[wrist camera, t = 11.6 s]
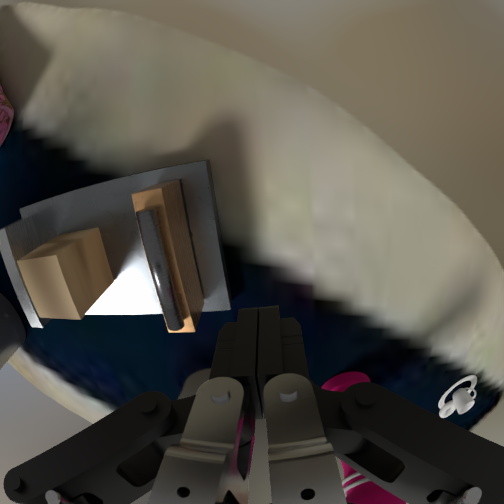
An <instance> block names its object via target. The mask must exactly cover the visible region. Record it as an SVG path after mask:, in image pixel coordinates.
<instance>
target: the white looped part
mask: <svg viewBox="0 0 504 504" xmlns="http://www.w3.org/2000/svg"><path fill="white" fill-rule="evenodd" d="M467 380H470V381H471V387H470V388H460V389H458V390H457V391H456V392H455V393H454V394H453V400H451V401H449V402H447V403H446V404H445V403H444V400H445V398H446V396H447V395H448V393H449V392H450V391H451V390H452V389H453V388H455V387H456V386H457V385H459V384H460V383H462V382H464V381H467ZM476 382H477V377H476V376H475V375H470V376H467V377H465V378H463V379H461V380H460V381H458V382H457V383H455V384H454V385H453V386H452V387H451V388H450V389H448V390H447V391H446V393H445V394H444V395H443V396H442V398H441V399H440V401H439V404H438V406H439V408H440V409H441V410H440V412H439V415H440V417H441V418H445V417H448V416H449V415H450V414H452V413H453V412H454V410H455V409H457V411H458V413H459V414H463V413H465V412H466V411H468V410H469V409H470V408H471V407H472V406H473V405H474V400H473V399H474V398H475V397H476V391H475V390H474V389H473V388H474V387H475V385H476ZM465 389H469V390H468V391H466V390H465ZM472 390H473V391H474V393H475V394H474V397H471V396H470V394H469V393H470V392H471V391H472Z"/></svg>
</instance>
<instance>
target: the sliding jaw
mask: <svg viewBox="0 0 504 504" xmlns="http://www.w3.org/2000/svg"><path fill="white" fill-rule="evenodd" d="M131 195H132V200H133V204H134V209H135V214H136V218H137V223H138V227H139V231H140V235H141V239H142V243H143V247H144V251H145V255H146V259H147V263H148V266H149V270H150V273H151V277H152V280H153V284H154V287H155V290H156V294H157V297H158V300H159V303H160V306H161V310H162V313H163V316H164V319H165V322H166V325H167V328H168V330H169V332H195V331H196V328H197V325H198V321H199V318H200V315H201V312H202V309H203V306H204V299H203V295H202V291H201V287H200V282H199V278H198V273H197V269H196V264H195V259H194V255H193V250H192V245H191V240H190V235H189V230H188V225H187V220H186V215H185V209H184V204H183V198H182V192H181V187H180V181H179V180H175V181H169V182H164V183H158V184H153V185H151V186H149V187H146V188H144V189H142V190H140V191H137V192H135V193H133V194H131Z"/></svg>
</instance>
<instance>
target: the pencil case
mask: <svg viewBox="0 0 504 504" xmlns="http://www.w3.org/2000/svg"><path fill="white" fill-rule="evenodd" d="M13 117H14V109H13V107H12V105H11V104H10V102H9V101H8V99H7V97H6V96H5V95H4V93H3V90H2V87H1V83H0V146H1V144H2V143H3V141H4V140H5V138H6V136H7V134H8V132H9V130H10V127H11V124H12V121H13Z"/></svg>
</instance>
